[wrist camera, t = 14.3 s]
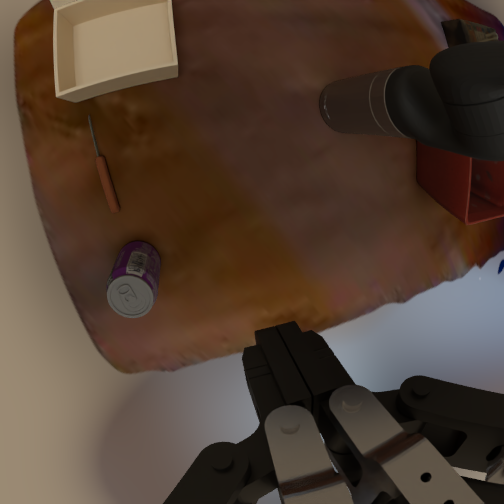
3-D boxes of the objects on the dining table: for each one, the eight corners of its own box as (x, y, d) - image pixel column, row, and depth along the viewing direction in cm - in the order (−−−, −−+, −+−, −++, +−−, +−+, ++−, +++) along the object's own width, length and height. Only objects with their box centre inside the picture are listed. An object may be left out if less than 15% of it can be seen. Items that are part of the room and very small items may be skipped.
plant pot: (403, 200, 54) (465, 226, 39) (402, 105, 46) (469, 106, 31) (459, 193, 57) (513, 214, 42) (459, 113, 50) (518, 120, 34)
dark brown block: (486, 56, 46) (505, 56, 40) (448, 52, 44) (469, 50, 38) (478, 29, 42) (496, 27, 36) (438, 21, 40) (458, 17, 35)
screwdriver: (121, 209, 43) (119, 212, 41) (113, 212, 43) (110, 215, 41) (94, 113, 36) (91, 112, 35) (86, 116, 36) (82, 115, 34)
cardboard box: (170, 0, 32) (169, -23, 24) (178, 77, 37) (177, 64, 30) (71, 25, 29) (54, 9, 22) (75, 102, 35) (56, 97, 27)
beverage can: (110, 254, 45) (92, 289, 34) (145, 231, 45) (135, 262, 34) (135, 287, 48) (126, 329, 37) (169, 266, 48) (168, 305, 37)
